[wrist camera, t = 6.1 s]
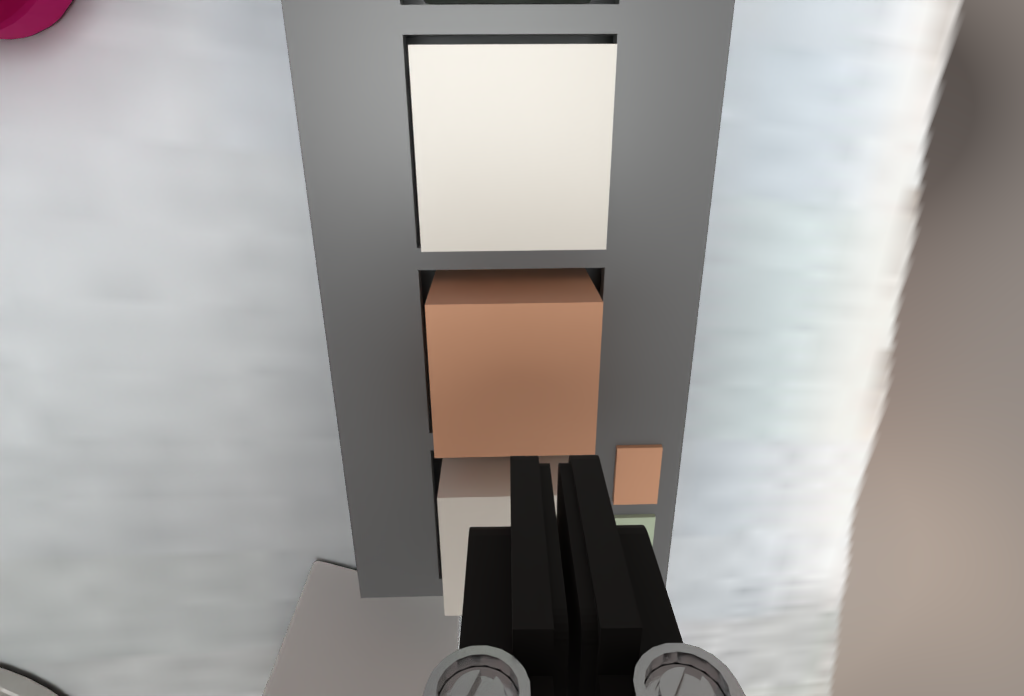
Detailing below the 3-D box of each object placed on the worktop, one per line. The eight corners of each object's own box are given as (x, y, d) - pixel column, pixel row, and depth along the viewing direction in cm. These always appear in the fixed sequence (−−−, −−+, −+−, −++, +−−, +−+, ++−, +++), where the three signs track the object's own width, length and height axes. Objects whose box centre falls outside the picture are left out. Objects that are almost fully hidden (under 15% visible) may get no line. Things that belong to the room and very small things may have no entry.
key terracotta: (578, 398, 22) (595, 454, 19) (443, 401, 22) (434, 458, 19) (584, 267, 21) (603, 302, 17) (436, 268, 20) (424, 304, 17)
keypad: (642, 524, 28) (666, 593, 24) (378, 530, 27) (359, 601, 24) (714, -242, 17) (778, -339, 13) (291, -245, 17) (232, -345, 13)
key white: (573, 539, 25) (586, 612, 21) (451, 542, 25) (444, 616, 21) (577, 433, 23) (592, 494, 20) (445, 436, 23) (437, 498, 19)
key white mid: (586, 222, 20) (606, 249, 16) (434, 224, 20) (421, 252, 16) (593, 54, 18) (617, 43, 15) (424, 54, 18) (408, 44, 14)
